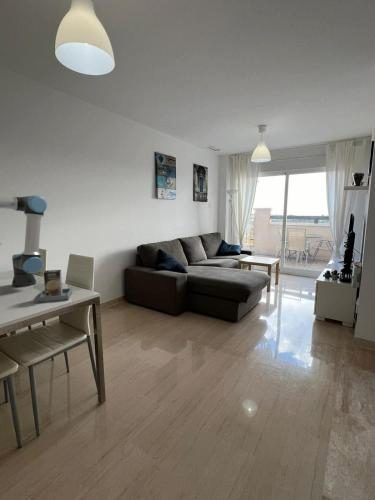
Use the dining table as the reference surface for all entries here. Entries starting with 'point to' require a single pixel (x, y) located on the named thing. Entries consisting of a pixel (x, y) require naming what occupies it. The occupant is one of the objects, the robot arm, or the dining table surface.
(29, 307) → the dining table surface
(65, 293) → the tray
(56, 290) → the coffee box
